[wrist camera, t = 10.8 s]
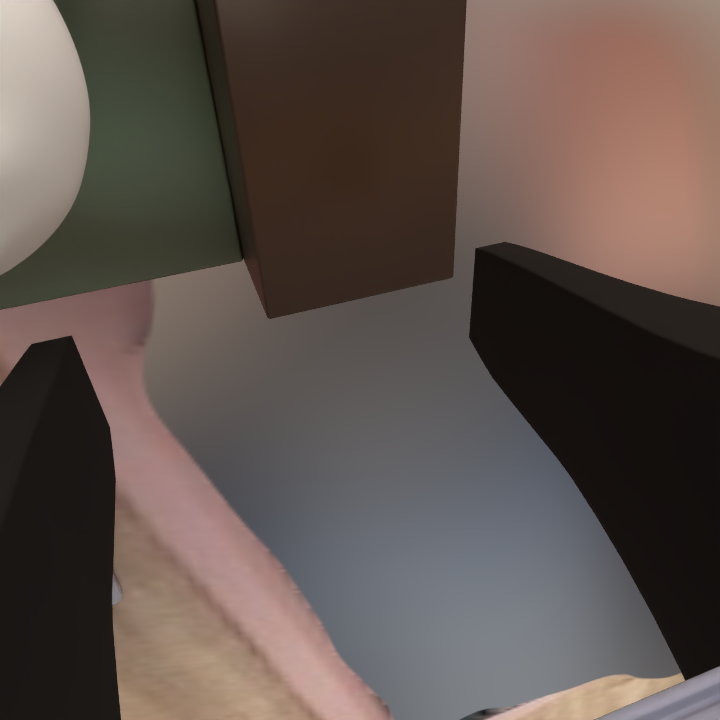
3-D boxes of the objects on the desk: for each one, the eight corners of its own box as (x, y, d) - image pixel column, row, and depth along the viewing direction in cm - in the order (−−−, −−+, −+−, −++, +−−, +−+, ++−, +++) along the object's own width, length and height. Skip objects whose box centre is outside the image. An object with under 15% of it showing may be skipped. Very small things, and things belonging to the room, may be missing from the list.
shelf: (369, 187, 21) (454, 278, 16) (-43, 262, 18) (-96, 403, 13) (344, -391, 13) (496, -567, 8) (-390, -420, 10) (-851, -719, 5)
